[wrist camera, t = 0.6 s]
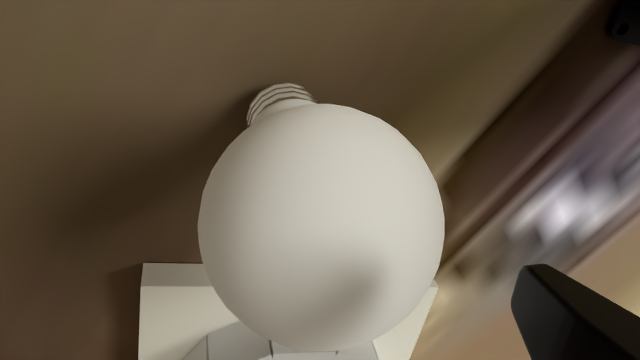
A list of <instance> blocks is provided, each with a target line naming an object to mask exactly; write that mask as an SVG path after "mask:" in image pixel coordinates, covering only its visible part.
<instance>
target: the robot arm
mask: <svg viewBox="0 0 640 360" xmlns="http://www.w3.org/2000/svg"><path fill="white" fill-rule="evenodd" d="M621 24H622V27H621V28H620V30H619V31H617V30H618V27H619V26H620V25H621ZM605 33H606V35H607V37H609V38H612V39H614V40H616V41H620V42H626V43H632V44H638V45H640V0H618V1H617V3H616V5H615V8H614V10H613V12H612V14H611V16H610V18H609V21H608V23H607V25H606V28H605ZM511 309H512V313H513V316H514V318H515V321H516V323H517V326H518V328H519V330H520V333H521V335H522V338H523V340H524V343H525V345H526V348H527V350H528V352H529V355H530V357H531V360H640V317H638V316H636V315H635V314H633V313H631V312H630V311H628V310H626V309H624V308H623V307H621V306H619V305H617V304H616V303H614V302H612V301H610V300H609V299H607V298H605V297H603V296H602V295H600V294H598V293H596V292H595V291H593V290H591V289H589V288H588V287H586V286H584V285H582V284H581V283H579V282H577V281H575V280H574V279H572V278H570V277H568V276H567V275H565V274H563V273H562V272H560V271H558V270H556V269H555V268H553V267H551V266H549V265H547V264H535V265H527V266H524V267H522V268H521V269H520V271H519V273H518V277H517V280H516V284H515V287H514V291H513V294H512V298H511Z"/></svg>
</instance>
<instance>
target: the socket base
mask: <svg viewBox="0 0 640 360" xmlns="http://www.w3.org/2000/svg"><path fill="white" fill-rule="evenodd" d="M438 288H439V287H438V285H437V284H436V282H435V280H434V278H433V280H432V283H431V285H430V286H429V288H428V290H427V292H426V294H425V296H424V297H423V298H422V300H421V301H420V303H419V304H418V306H417V307H416V308H415V309H414V310H413V311H412V312H411V313H410V314H409V315H408V316H407V317H406V318H405V319H404V320H403V321H402V322H400V323H399V324H398V325H396V326H395V327H394V328H392V329H391V330H390V331H388V332H387V333H385V334H383V335H381V336H380V337H378V338H376V339H374V340H372V341H370V342H367V343H365V344H362V345H360V346H356V347H352V348H348V349H342V350H335V351H304V350H298V349H292V348H289V347H286V346H283V345H280V344H278V343H275V342H273V341H271V340H268V339H266V338H264V337H262V336H261V335H259V334H257V333H255V332H254V331H252V330H250V329H249V328H248V327H247V326H246V325H245V324H244V323H242V322H241V321H240V320H239V319H238V318H237V317H236V316H235V315H234V314H233V313H232V312H231V311H230V310H228V309H227V308H226V306H225V305H224V303H223V302H222V300H221V299H220V298H219V296H218V295H217V293H216V291H215V290H214V288H213V286H212V284H211V282H210V280H209V279H208V276H207V273H206V270H205V267H204V265H203V264H178V263H143V270H142V279H141V292H140V323H139V353H138V360H409V359H410V356H411V354H412V351H413V349H414V346H415V344H416V341H417V339H418V337H419V334H420V332H421V329H422V327H423V324H424V322H425V319H426V317H427V314H428V312H429V310H430V307H431V305H432V302H433V300H434V297H435V295H436V292H437V290H438Z"/></svg>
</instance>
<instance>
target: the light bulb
mask: <svg viewBox="0 0 640 360" xmlns="http://www.w3.org/2000/svg"><path fill="white" fill-rule="evenodd" d="M246 125H247V129H246V130H244V131H243V132H242V133H241V134H240V135H239V136H238V137H237V138H236V139H235V140H234V141H233V142H232V143H231V144H229V146H228V147H227V148H226V150H225V151H224V153H223V154H222V156H221V157H220V158H219V160H218V161H217V163H216V164H215V166H214V168H213V169H212V171H211V173H210V175H209V178H208V180H207V183H206V185H205V187H204V190H203V194H202V200H201V206H200V212H199V218H198V225H197V226H198V238H199V247H200V252H201V258H202V262H203V265H204V267H205V270H206V273H207V276H208V279H209V280H210V282H211V284H212V286H213V288H214V290H215V291H216V293H217V295H218V296H219V298H220V299H221V300H222V302H223V303H224V305H225V306H226V308H227V309H228V310H230V311H231V312H232V313H233V314H234V315H235V316H236V317H237V318H238V319H239V320H240V321H241V322H242V323H244V324H245V325H246V326H247V327H248V328H249V329H250V330H252V331H254V332H255V333H257V334H259V335H261V336H262V337H264V338H266V339H268V340H271V341H273V342H275V343H278V344H280V345H283V346H286V347H289V348H292V349H298V350H304V351H335V350H342V349H348V348H352V347H356V346H360V345H362V344H365V343H367V342H370V341H372V340H374V339H376V338H378V337H380V336H381V335H383V334H385V333H387V332H388V331H390V330H391V329H392V328H394V327H395V326H396V325H398V324H399V323H400V322H402V321H403V320H404V319H405V318H406V317H407V316H408V315H409V314H410V313H411V312H412V311H413V310H414V309H415V308H416V307H417V306H418V304H419V303H420V301H421V300H422V298H423V297H424V296H425V294H426V292H427V290H428V288H429V286H430V285H431V283H432V280H433V278H434V276H435V274H436V272H437V270H438V267H439V263H440V259H441V254H442V249H443V242H444V213H443V207H442V201H441V197H440V194H439V190H438V186H437V183H436V181H435V179H434V177H433V175H432V173H431V172H430V170H429V168H428V166H427V164H426V163H425V161H424V159H423V157H422V155H421V154H420V153H419V152H418V150H417V149H416V148H415V147H414V146H413V145H412V144H411V143H410V142H409V141H408V140H407V139H406V138H405V137H404V136H403V135H402V134H401V133H400V132H399V131H398V130H397V129H395V128H394V127H392V126H391V125H389V124H387V123H386V122H384V121H383V120H381V119H380V118H377V117H375V116H372V115H370V114H367V113H364V112H362V111H359V110H356V109H354V108H351V107H346V106H340V105H334V104H320V103H319V101H318V99H317V98H316V97H315V96H313V95H312V94H311V93H309V91H308V90H307V89H306V87H305V86H304V85H300V84H296V83H293V82H283V83H275V84H272V85H270V86H269V87H267V88H265V89H263V90H261V91H260V92H259V93H258V94H257V95H256V97H255V98H254V99H253V100H252V101H251V103H250V105H249V108H248V111H247V115H246Z"/></svg>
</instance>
